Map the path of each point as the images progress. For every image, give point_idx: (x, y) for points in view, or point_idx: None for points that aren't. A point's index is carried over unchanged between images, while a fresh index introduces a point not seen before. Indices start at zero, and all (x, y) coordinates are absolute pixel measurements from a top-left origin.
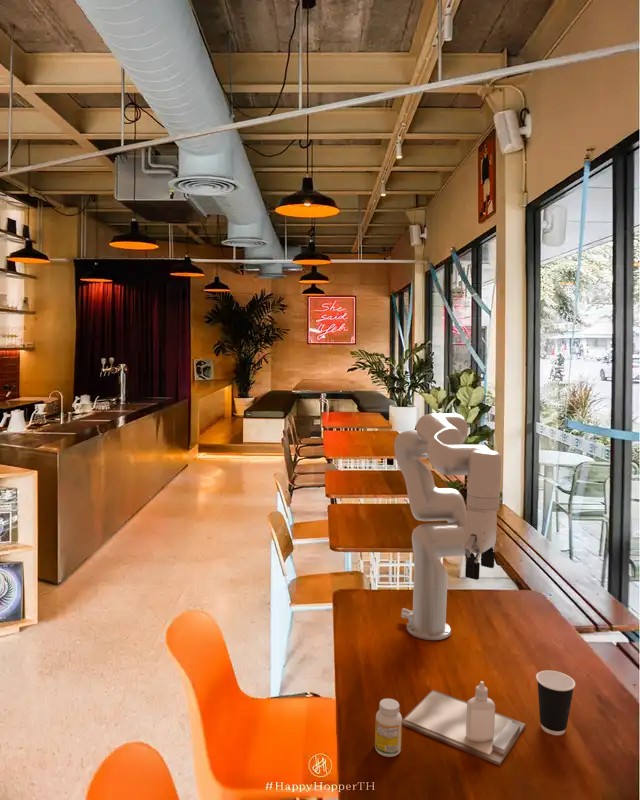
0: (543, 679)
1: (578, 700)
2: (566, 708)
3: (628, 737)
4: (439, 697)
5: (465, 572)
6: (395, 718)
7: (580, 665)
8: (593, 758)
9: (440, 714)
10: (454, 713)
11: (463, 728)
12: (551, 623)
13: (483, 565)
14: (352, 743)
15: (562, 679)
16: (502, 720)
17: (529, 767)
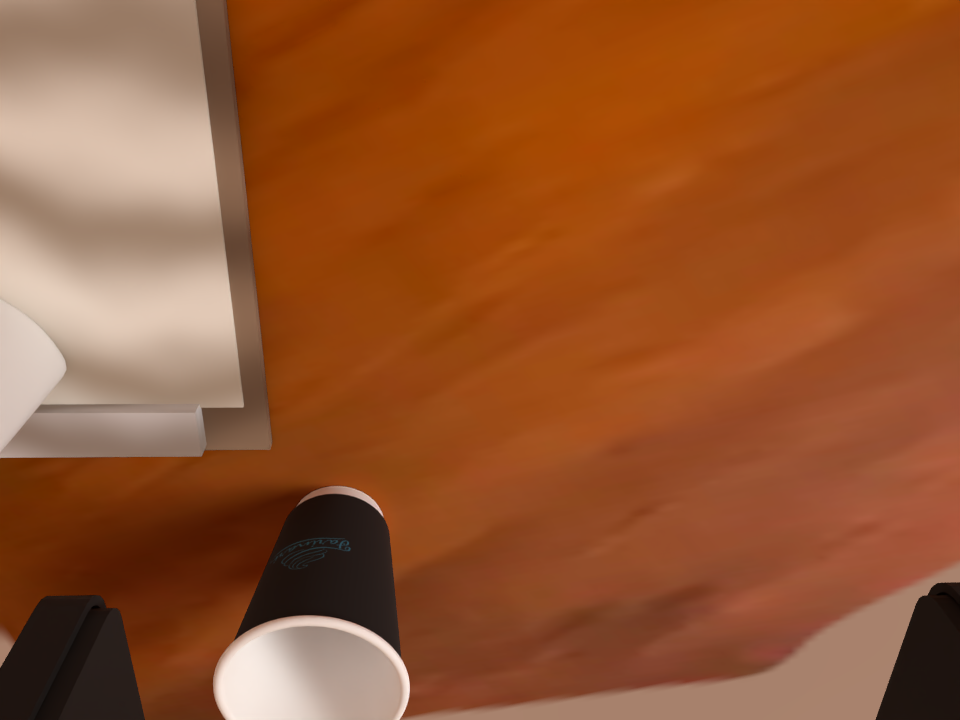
0: (355, 607)
1: (618, 545)
2: (295, 656)
3: (462, 703)
4: (158, 30)
5: (4, 663)
6: None
7: (951, 489)
8: None
9: (11, 110)
10: (82, 169)
11: (3, 256)
12: None
13: (914, 638)
14: None
15: (396, 678)
16: (211, 373)
17: (26, 522)
